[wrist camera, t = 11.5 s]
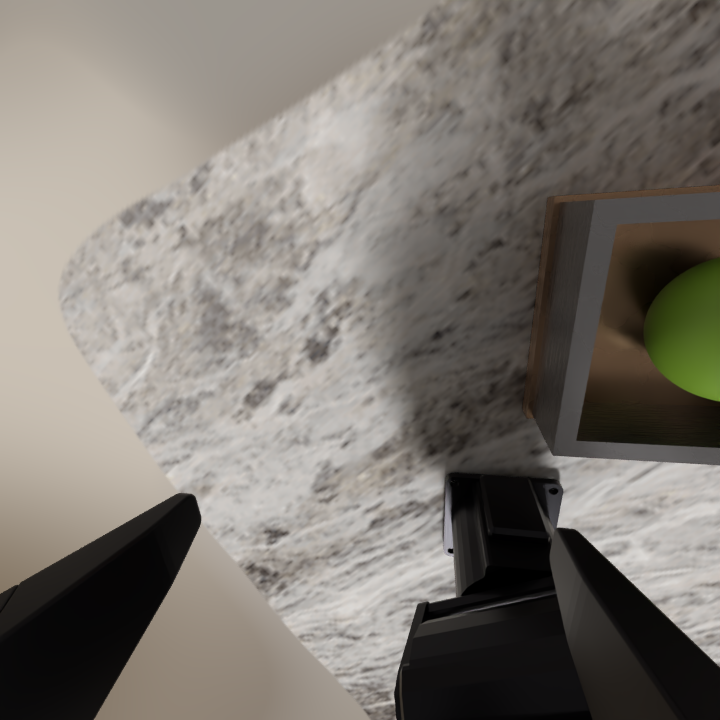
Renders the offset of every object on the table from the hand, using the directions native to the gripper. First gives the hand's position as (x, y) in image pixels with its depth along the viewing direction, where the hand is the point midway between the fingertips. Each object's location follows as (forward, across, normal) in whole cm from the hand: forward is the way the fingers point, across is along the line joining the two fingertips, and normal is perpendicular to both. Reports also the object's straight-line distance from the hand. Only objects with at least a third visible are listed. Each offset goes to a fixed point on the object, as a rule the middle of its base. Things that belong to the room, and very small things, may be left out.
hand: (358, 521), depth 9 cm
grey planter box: (+12, -12, -2) cm, 17 cm away
